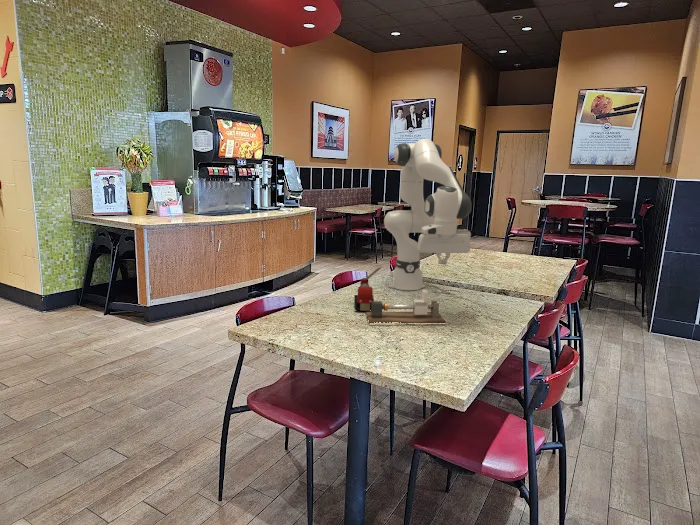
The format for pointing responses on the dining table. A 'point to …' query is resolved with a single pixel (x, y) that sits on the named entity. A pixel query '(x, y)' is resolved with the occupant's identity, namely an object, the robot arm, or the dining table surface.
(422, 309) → the sleeve
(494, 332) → the dining table surface
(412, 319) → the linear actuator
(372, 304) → the rod
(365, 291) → the toy fire truck
